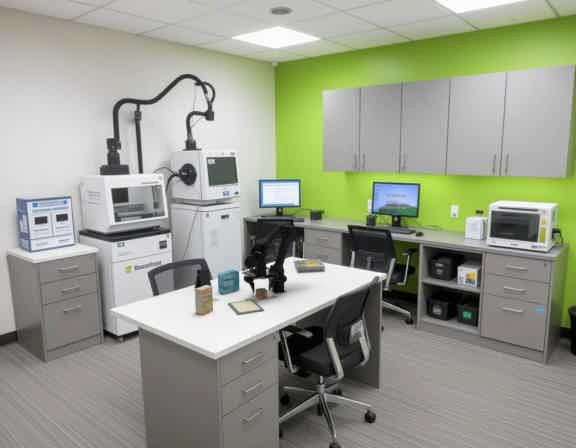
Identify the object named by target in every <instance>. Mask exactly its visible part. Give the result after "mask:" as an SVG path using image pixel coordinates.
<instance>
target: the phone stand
mask: <svg viewBox="0 0 576 448" xmlns="http://www.w3.org/2000/svg"><path fill="white" fill-rule="evenodd" d="M210 279H211V278H210V275H209V268H207V267H203V268H199V269H196V278H195V283H194V289H196V288H199V287H202V286H205V285H209V286H212V282H211V280H210Z"/></svg>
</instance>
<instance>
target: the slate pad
mask: <svg viewBox="0 0 576 448" xmlns="http://www.w3.org/2000/svg"><path fill="white" fill-rule="evenodd" d="M227 305H228V306H229V308H231V310H232V311H233V312H234V313H235V314H236V315H237V316H240V315H247V314H253V313H259V312H261V313H262V312H265V309H264V308H263V307H262V306H261V305H260V304H259V303H257V302H256V301H255V300H254V299H246V300H240V301H239V300H238V301H232V302H227Z"/></svg>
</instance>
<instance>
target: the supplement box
mask: <svg viewBox="0 0 576 448" xmlns="http://www.w3.org/2000/svg"><path fill="white" fill-rule="evenodd" d="M213 291H214V290H213V286H212V285H211V286H209V285H205V286H202V287H199V288H194V300H195V301H194V304H195V305H194V307H195V315H200V316H204V315H206V314H208V313H210V312H213V311H214V298H213V297H214V296H213Z"/></svg>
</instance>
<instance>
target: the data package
mask: <svg viewBox="0 0 576 448" xmlns="http://www.w3.org/2000/svg"><path fill="white" fill-rule="evenodd" d="M217 290H218V293H220V294H223V295H227V294H231V293H234V292H238V291H239V290H240V272H239V271H238V270H236V269H229V270H228V269H227V270H225V271H220V272H218V273H217Z"/></svg>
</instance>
